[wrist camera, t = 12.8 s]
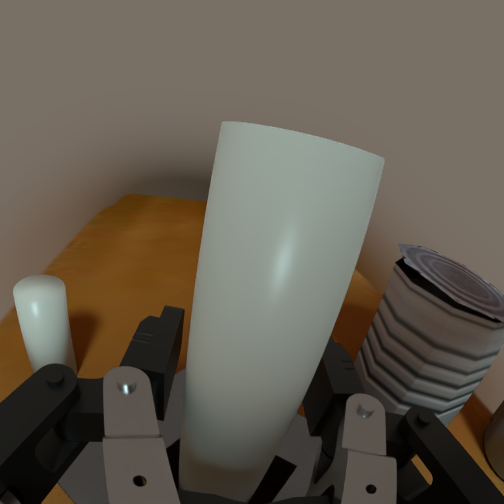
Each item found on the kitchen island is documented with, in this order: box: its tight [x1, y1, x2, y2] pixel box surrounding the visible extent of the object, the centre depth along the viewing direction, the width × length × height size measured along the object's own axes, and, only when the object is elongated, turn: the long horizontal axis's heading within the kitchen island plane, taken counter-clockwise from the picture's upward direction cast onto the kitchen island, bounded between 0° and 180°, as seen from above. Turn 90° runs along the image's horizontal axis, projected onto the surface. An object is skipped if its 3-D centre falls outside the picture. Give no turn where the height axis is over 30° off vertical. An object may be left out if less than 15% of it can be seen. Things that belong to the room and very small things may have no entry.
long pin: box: [178, 121, 385, 503], centre depth 9 cm, size 4×4×17 cm
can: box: [353, 244, 504, 427], centre depth 21 cm, size 11×11×12 cm
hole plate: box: [57, 368, 322, 504], centre depth 12 cm, size 12×12×4 cm
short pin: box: [13, 275, 77, 376], centre depth 16 cm, size 4×4×7 cm
